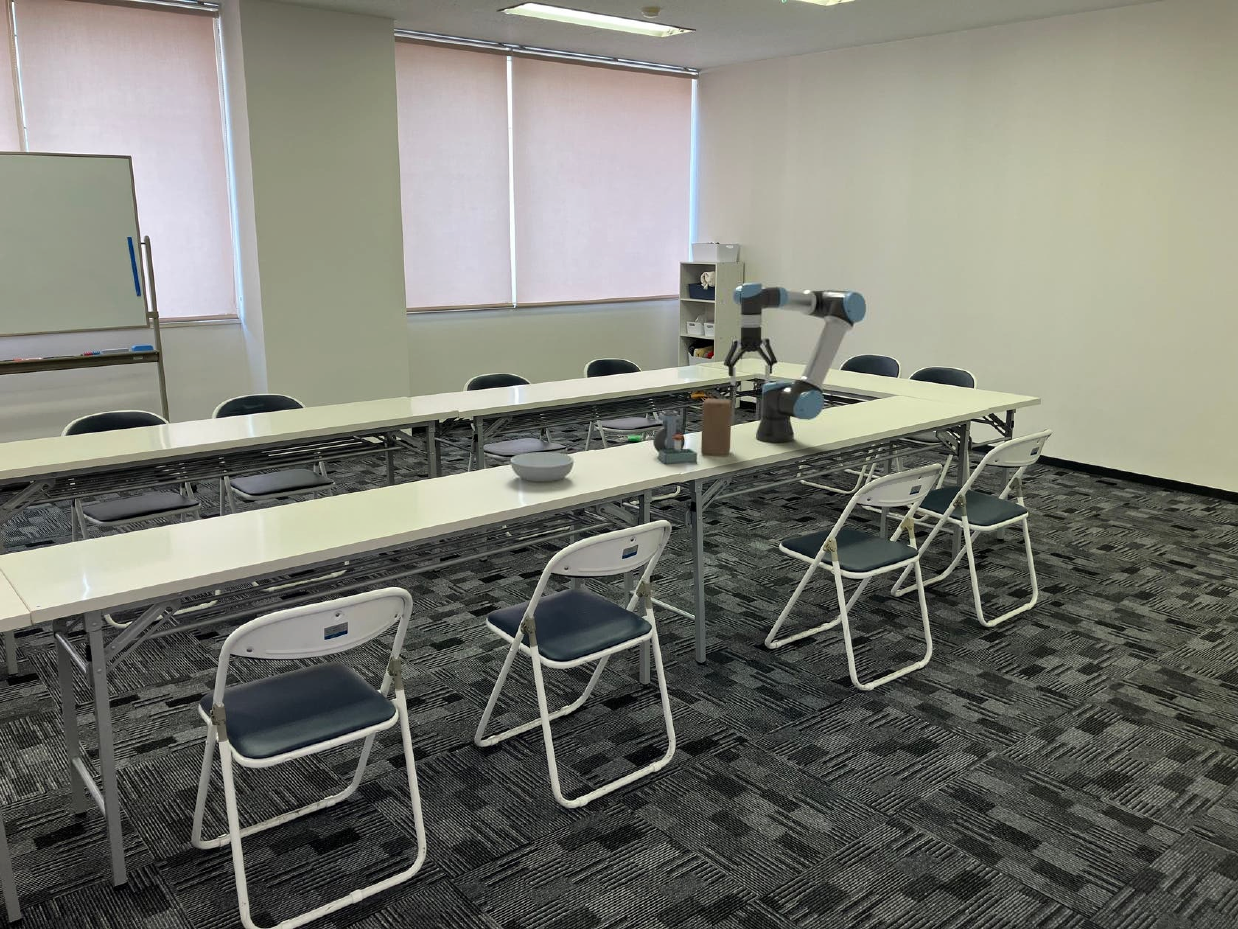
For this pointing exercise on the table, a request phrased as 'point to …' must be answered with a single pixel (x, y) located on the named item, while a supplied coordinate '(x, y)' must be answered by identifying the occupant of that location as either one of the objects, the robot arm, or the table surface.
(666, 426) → the wheel stand
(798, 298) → the robot arm
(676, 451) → the stop pin
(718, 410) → the wooden block
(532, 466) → the serving bowl
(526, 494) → the table surface
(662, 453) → the tray
